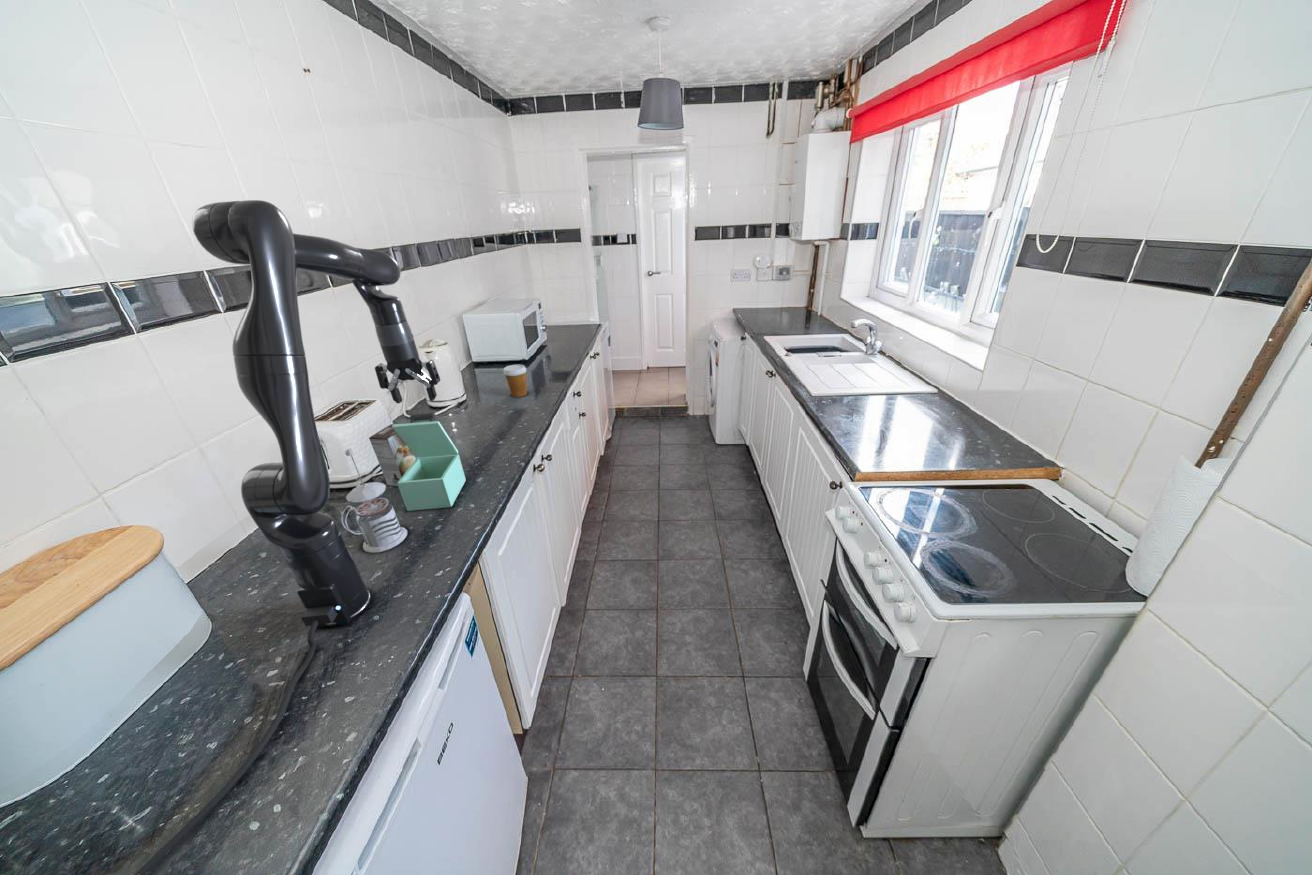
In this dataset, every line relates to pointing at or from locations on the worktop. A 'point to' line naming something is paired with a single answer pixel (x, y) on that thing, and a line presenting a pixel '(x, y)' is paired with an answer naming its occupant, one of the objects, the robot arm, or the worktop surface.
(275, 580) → the worktop surface
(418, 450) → the lid
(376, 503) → the french press
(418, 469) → the mint green open box
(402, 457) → the coffee box
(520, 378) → the disposable coffee cup
